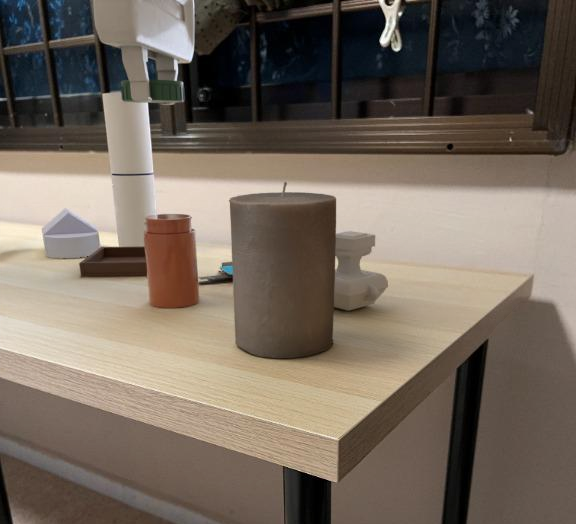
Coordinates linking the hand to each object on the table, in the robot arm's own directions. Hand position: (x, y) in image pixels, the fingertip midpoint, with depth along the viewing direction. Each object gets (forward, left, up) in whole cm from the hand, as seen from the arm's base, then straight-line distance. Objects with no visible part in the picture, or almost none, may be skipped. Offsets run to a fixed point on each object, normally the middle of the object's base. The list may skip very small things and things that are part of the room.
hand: (155, 103), depth 66 cm
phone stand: (+12, +13, -22) cm, 28 cm away
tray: (-9, +22, -22) cm, 32 cm away
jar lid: (0, 0, +2) cm, 2 cm away
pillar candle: (+13, -16, -22) cm, 30 cm away
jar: (0, 0, -22) cm, 22 cm away
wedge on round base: (-22, +36, -22) cm, 48 cm away
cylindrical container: (-11, +39, -22) cm, 46 cm away
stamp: (+21, -3, -22) cm, 31 cm away
